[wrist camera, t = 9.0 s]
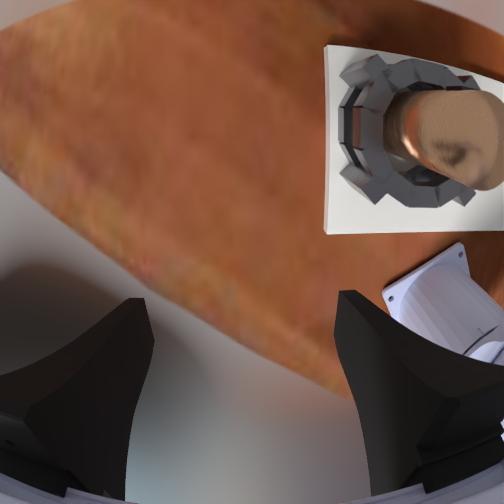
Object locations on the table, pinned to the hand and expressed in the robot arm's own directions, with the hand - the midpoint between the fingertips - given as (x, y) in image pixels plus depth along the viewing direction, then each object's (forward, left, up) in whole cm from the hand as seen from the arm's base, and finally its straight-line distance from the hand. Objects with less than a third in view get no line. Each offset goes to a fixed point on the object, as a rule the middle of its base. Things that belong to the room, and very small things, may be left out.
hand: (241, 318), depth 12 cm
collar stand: (+1, -12, -10) cm, 16 cm away
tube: (+1, -12, -9) cm, 15 cm away
